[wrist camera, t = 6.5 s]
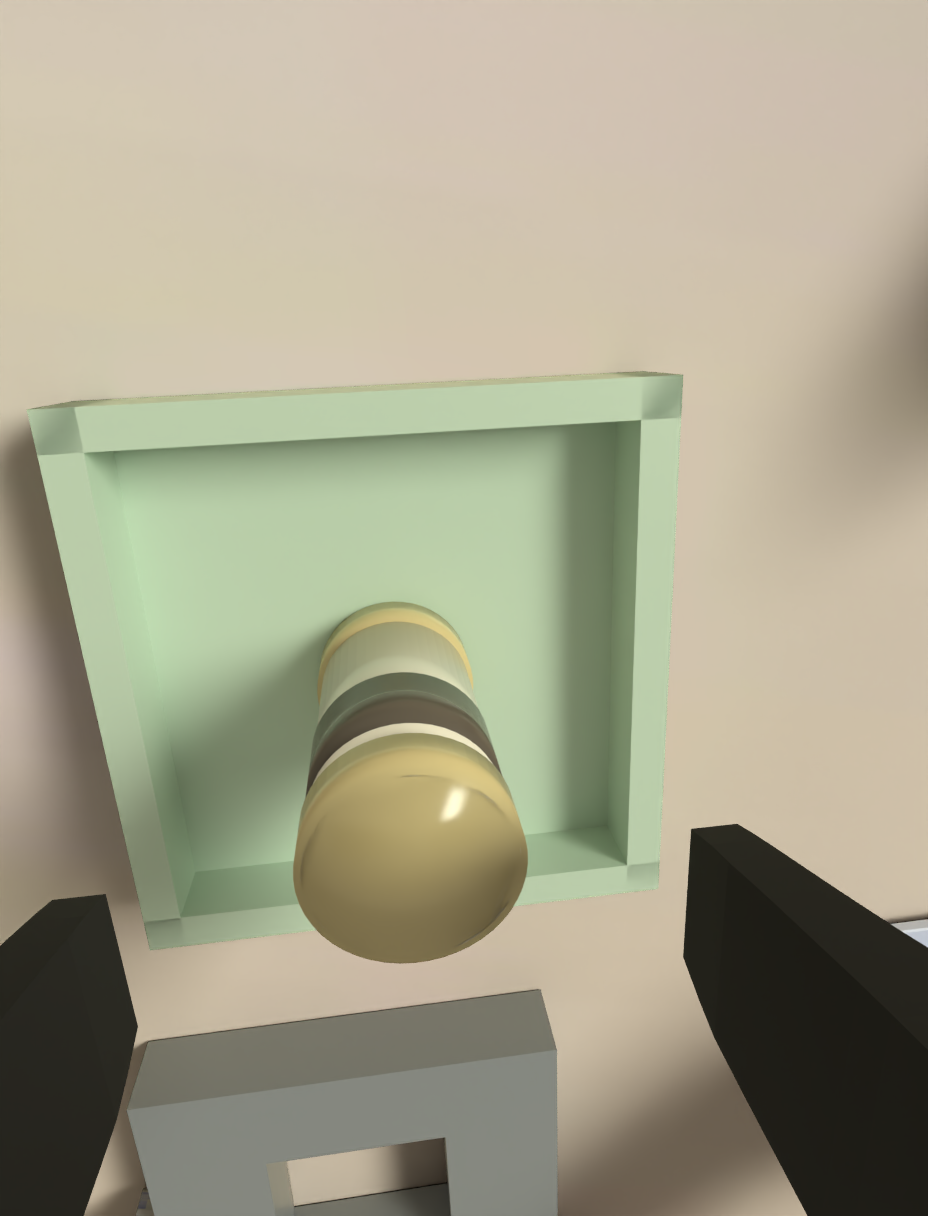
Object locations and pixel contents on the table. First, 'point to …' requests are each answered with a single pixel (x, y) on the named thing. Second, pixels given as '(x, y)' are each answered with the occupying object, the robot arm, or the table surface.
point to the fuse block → (355, 1109)
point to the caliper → (145, 1205)
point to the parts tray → (357, 578)
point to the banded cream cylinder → (404, 796)
